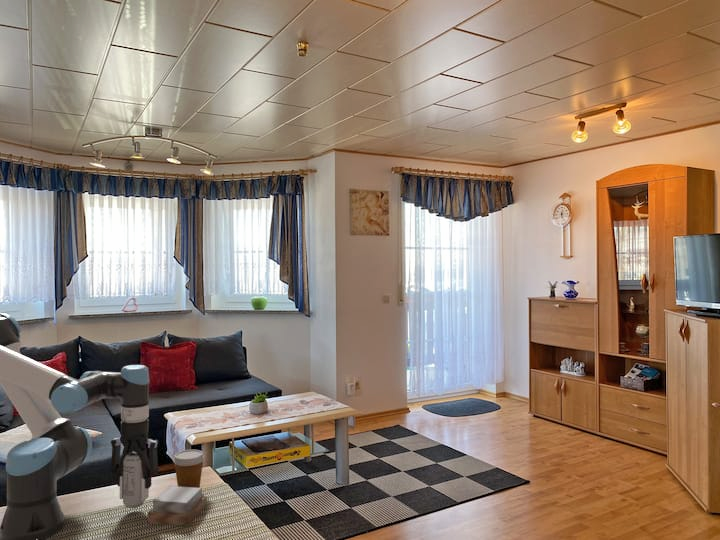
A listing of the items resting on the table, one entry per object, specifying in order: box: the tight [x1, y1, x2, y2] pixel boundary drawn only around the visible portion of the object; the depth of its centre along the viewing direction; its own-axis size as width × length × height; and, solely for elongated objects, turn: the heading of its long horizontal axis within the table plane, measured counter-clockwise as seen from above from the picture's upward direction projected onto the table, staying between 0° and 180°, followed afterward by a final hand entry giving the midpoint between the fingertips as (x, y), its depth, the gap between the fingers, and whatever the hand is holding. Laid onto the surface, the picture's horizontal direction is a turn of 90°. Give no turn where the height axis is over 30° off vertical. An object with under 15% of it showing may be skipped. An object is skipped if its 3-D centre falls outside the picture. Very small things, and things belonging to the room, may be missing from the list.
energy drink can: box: [122, 451, 146, 509], centre depth 162 cm, size 6×6×15 cm
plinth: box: [147, 485, 207, 526], centre depth 160 cm, size 12×12×6 cm
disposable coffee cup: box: [172, 449, 205, 488], centre depth 176 cm, size 10×10×12 cm
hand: (134, 497), depth 162 cm, fingers closed on energy drink can, 6 cm apart
